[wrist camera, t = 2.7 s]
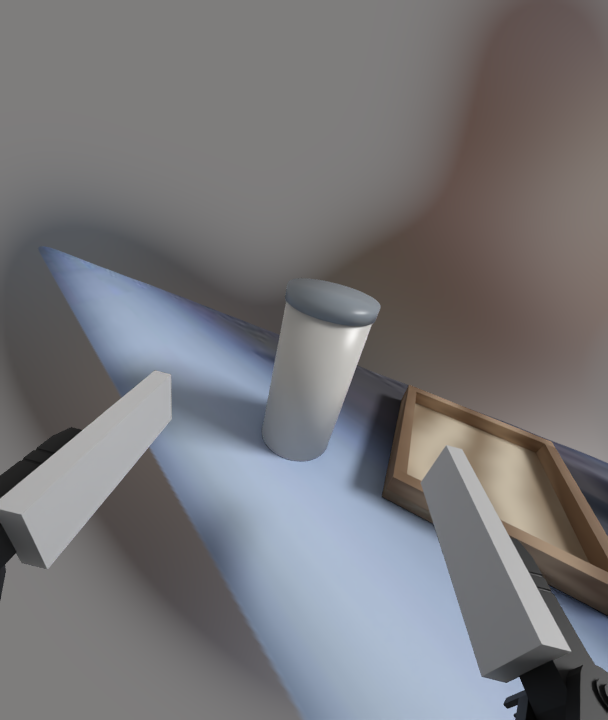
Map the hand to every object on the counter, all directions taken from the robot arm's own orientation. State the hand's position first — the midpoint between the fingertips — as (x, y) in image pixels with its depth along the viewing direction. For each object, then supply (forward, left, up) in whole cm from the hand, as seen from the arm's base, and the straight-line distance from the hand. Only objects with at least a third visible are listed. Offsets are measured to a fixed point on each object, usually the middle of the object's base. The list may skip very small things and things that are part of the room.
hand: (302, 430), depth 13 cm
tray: (-18, -10, -10) cm, 23 cm away
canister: (0, -10, -10) cm, 14 cm away
